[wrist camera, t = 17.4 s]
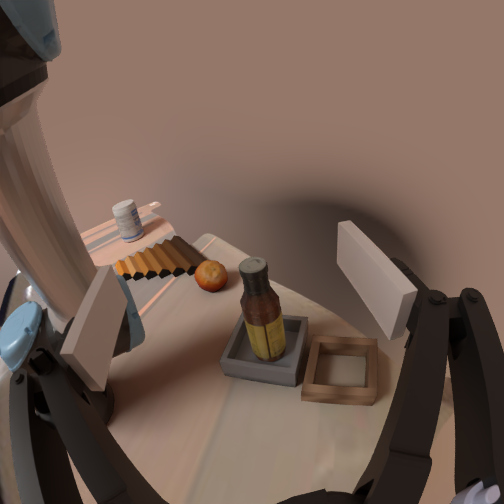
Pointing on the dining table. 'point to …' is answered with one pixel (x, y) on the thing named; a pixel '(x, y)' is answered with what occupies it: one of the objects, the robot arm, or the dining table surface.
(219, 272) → the fruit
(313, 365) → the walnut holder
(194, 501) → the dining table surface
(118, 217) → the supplement tub
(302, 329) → the grey square tray
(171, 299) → the dining table surface
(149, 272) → the brown ridged flat piece
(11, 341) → the robot arm
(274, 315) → the sauce bottle
